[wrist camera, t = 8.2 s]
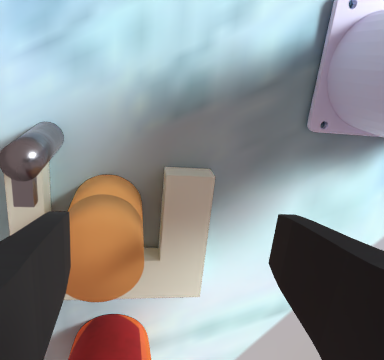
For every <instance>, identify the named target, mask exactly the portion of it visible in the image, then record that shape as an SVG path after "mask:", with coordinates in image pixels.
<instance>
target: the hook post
mask: <svg viewBox="0 0 384 360" xmlns="http://www.w3.org/2000/svg"><path fill="white" fill-rule="evenodd" d="M63 141H64V135H63V132H62V130H61V129H60V128H59V127H58V126H57V125H55V124H54V123H51V122H41V123H39V124H37V125H35V126H34V127H33V128H31V129H30V130H28V131H27V132H26V133H24V134H23V135H21V136H20V137H19V138H17V139H16V140H14V141H13V142H12V143H10V144H9V145H7V146H6V147H5V148H3V150H2V151H1V152H0V168H1V170H2V171H3V173H4V174H5V175H6V176H8V177H9V178H11V183H12V194H13V205H14V207H35V205H36V204H37V202H38V191H37V175H38V174H39V173H40V172H41V171H42V169H43V168H44V167H45V166H46V164H47V163H48V162H49V161H50V160H51V158H52V157H53V156H54V155H55V153H56V152H57V151H58V150H59V148H60V147H61V146H62V144H63Z"/></svg>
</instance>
